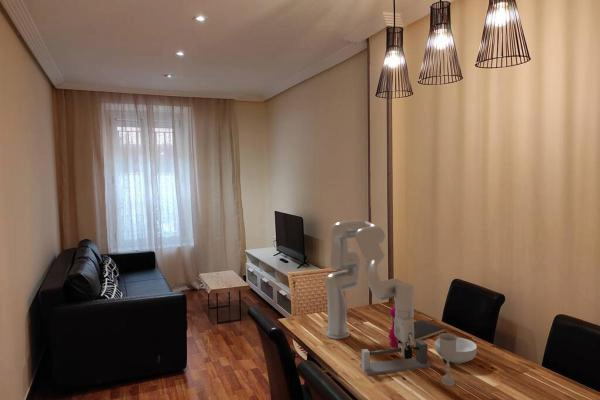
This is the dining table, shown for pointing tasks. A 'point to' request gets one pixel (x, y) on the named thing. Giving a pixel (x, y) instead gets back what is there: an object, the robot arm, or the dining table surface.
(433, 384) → the dining table surface
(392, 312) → the pepper mill
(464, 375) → the dining table surface
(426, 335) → the hardcover book
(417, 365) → the linear slide rail
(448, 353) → the chalice
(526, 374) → the dining table surface
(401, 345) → the sleeve
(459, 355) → the cereal bowl
